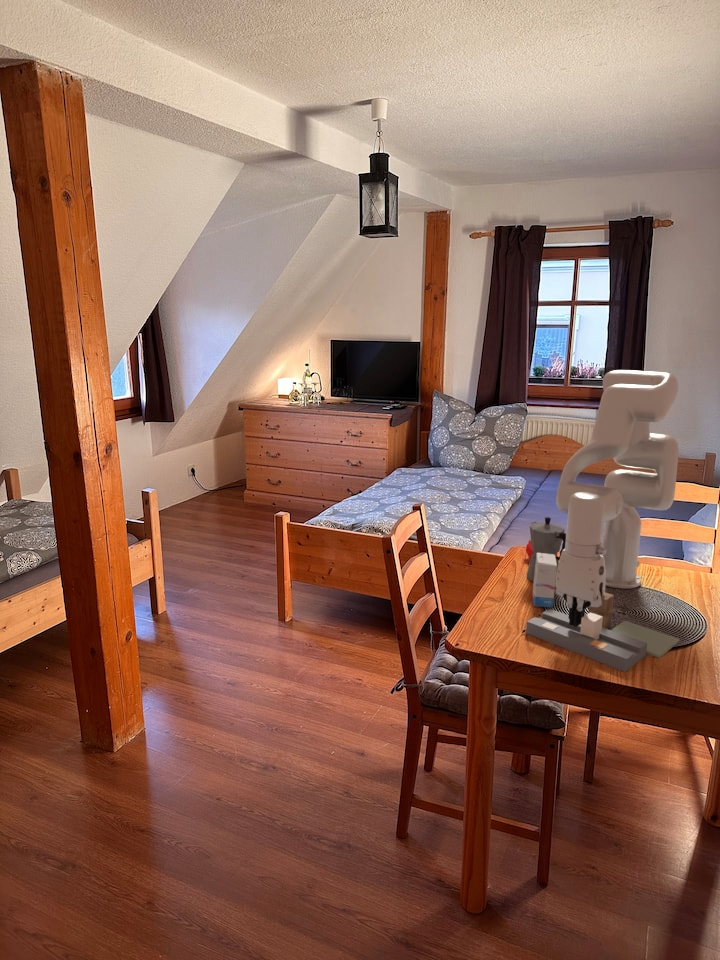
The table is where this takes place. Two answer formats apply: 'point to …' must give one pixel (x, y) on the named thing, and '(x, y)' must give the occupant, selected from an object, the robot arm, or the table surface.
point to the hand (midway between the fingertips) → (575, 623)
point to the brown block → (604, 609)
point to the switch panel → (588, 641)
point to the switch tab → (591, 625)
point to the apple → (529, 550)
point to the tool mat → (648, 638)
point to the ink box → (544, 580)
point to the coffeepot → (545, 542)
